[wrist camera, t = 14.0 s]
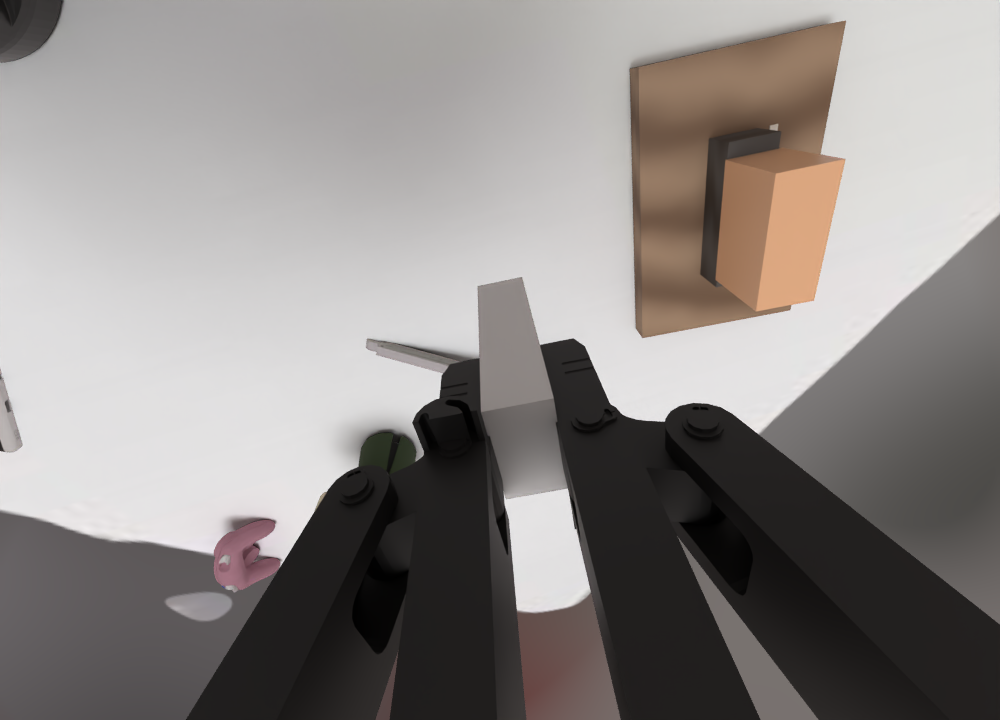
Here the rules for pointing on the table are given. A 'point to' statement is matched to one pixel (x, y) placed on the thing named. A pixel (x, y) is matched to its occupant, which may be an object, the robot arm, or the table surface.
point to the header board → (682, 157)
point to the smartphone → (7, 423)
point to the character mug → (385, 454)
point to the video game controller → (243, 557)
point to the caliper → (410, 355)
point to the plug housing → (776, 225)
